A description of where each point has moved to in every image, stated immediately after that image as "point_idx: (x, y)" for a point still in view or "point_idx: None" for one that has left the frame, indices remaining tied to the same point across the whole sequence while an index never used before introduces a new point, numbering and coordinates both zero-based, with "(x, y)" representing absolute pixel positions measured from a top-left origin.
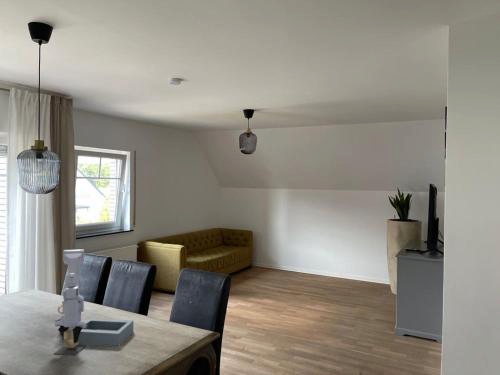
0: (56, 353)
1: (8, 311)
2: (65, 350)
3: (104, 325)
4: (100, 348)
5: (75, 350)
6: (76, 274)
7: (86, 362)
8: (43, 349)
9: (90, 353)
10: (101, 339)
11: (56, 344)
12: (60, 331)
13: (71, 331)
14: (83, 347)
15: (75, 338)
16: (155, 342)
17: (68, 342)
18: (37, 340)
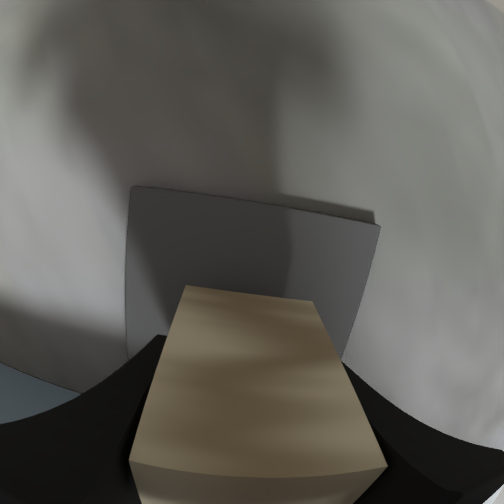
0: (354, 220)
1: (498, 490)
2: (282, 288)
3: None
4: (13, 327)
5: (168, 285)
6: None
7: (8, 65)
8: (463, 317)
9: (25, 235)
10: (21, 406)
11: (394, 400)
12: (458, 451)
13: (217, 501)
14: (128, 349)
15: (123, 367)
16: None
17: (250, 331)
18: (481, 411)
